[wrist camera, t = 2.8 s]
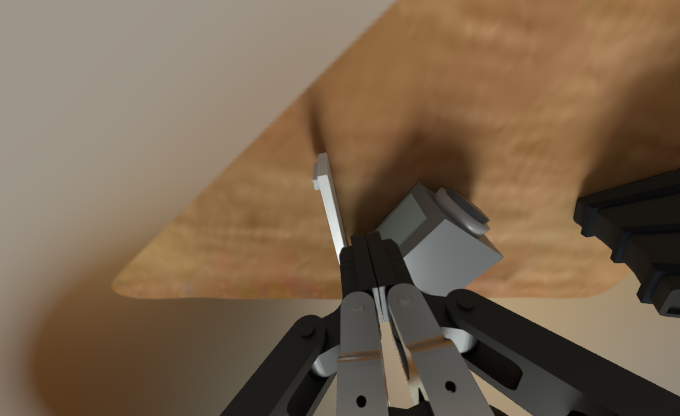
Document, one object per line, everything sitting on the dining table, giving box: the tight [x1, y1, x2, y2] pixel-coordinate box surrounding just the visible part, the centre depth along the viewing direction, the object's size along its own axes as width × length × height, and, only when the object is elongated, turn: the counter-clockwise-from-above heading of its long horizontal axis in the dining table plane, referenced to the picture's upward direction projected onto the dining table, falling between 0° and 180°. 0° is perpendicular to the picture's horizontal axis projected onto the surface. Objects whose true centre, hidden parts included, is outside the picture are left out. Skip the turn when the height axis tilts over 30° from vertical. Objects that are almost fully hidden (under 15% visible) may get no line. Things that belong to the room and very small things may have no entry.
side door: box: [313, 152, 347, 264], centre depth 22 cm, size 12×1×5 cm, turn 10°
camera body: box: [365, 182, 504, 297], centre depth 23 cm, size 12×7×7 cm, turn 145°
